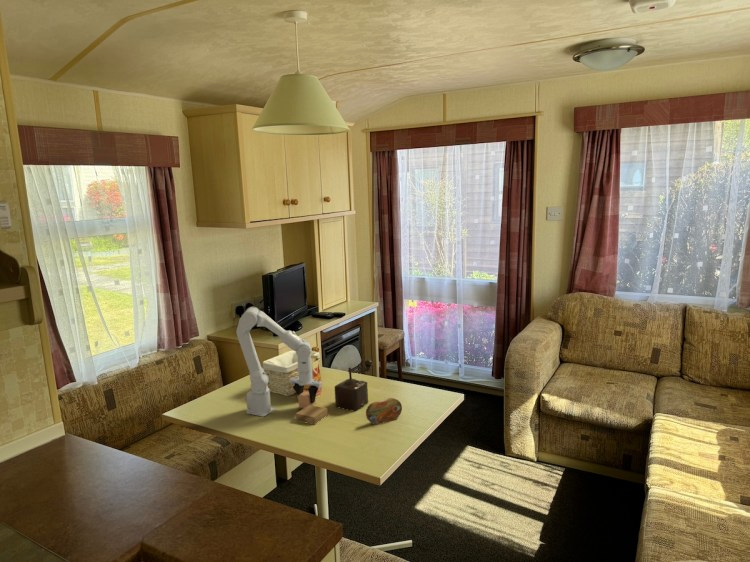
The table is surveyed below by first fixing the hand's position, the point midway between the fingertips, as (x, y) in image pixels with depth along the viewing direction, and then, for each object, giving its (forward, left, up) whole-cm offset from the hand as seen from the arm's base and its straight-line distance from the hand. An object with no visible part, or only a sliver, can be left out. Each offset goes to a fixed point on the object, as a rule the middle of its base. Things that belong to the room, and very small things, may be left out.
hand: (307, 401), depth 217 cm
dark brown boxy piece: (+16, +13, -3) cm, 21 cm away
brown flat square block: (+7, -7, -3) cm, 10 cm away
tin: (+35, +2, -4) cm, 35 cm away
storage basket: (-21, +19, -4) cm, 29 cm away
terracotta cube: (0, 0, -2) cm, 2 cm away
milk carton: (-7, +13, -3) cm, 15 cm away
